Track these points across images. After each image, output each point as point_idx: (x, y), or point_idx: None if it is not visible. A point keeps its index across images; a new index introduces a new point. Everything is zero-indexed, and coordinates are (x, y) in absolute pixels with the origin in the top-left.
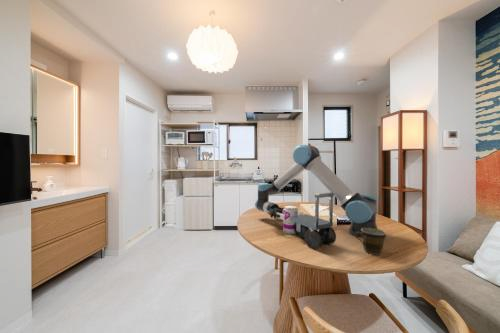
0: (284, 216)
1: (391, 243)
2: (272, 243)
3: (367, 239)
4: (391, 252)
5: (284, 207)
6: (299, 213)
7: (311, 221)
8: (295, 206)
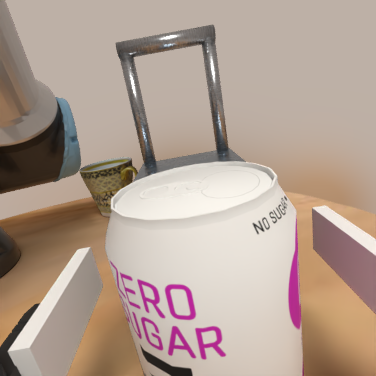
0: (315, 218)
1: (22, 230)
2: None
3: (132, 174)
4: (88, 209)
5: (276, 196)
6: (83, 283)
7: (207, 162)
8: (119, 193)
